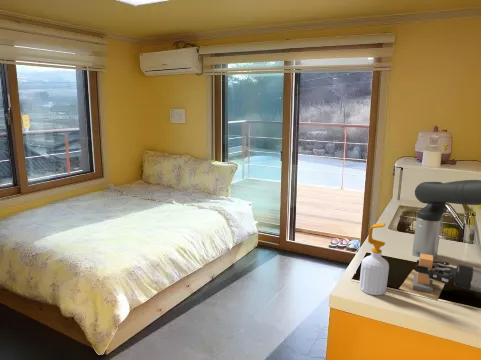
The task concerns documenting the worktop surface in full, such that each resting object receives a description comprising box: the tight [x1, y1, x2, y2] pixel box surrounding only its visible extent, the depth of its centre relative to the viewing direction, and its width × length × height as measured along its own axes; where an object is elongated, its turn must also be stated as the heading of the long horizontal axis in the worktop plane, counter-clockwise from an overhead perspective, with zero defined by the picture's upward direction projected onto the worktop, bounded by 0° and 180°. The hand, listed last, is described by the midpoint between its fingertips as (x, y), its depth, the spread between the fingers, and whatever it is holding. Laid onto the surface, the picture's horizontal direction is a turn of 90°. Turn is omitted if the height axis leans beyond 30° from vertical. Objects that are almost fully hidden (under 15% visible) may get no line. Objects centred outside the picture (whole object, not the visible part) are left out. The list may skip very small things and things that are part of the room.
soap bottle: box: [358, 222, 390, 296], centre depth 128 cm, size 9×9×25 cm
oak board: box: [398, 269, 446, 301], centre depth 133 cm, size 20×12×2 cm, turn 142°
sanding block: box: [413, 253, 434, 293], centre depth 129 cm, size 9×6×11 cm, turn 154°
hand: (416, 265), depth 130 cm, fingers closed on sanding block, 4 cm apart
